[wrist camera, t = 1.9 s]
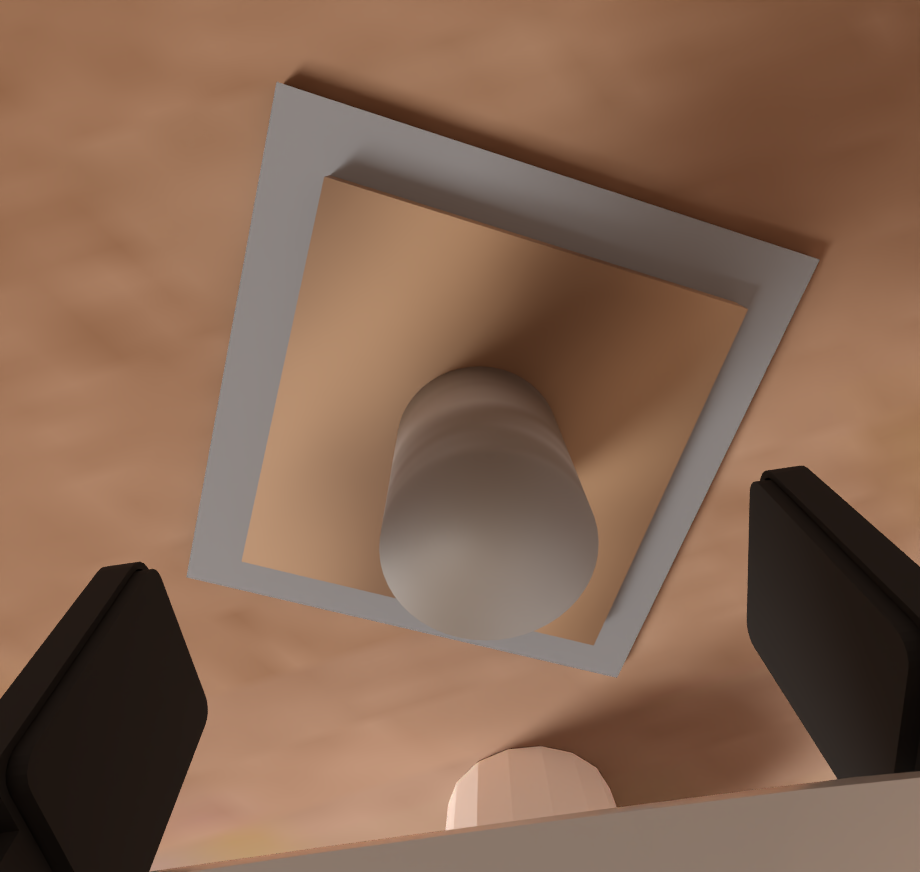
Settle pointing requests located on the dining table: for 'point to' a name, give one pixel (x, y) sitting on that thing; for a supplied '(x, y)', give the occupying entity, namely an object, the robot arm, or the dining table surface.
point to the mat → (506, 207)
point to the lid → (476, 417)
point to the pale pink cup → (526, 788)
